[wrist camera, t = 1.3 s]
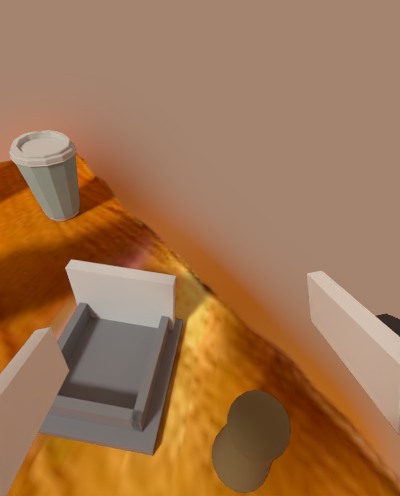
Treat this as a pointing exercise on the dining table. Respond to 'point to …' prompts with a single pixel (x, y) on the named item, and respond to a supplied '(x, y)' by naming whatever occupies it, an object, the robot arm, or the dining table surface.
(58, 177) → the disposable coffee cup
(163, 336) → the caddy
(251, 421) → the cork
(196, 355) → the dining table surface
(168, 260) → the dining table surface
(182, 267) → the dining table surface
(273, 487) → the dining table surface
